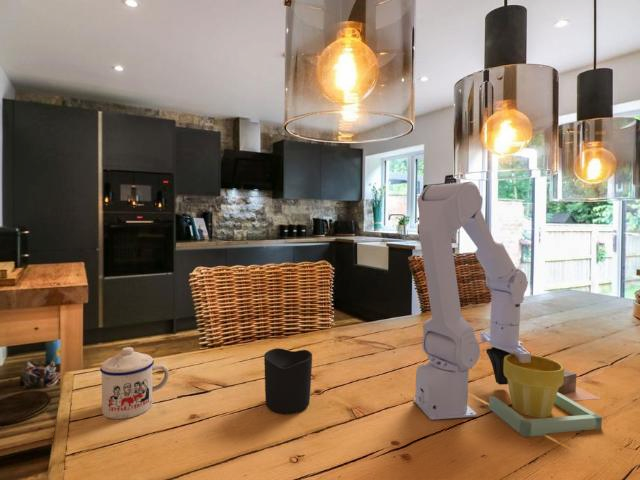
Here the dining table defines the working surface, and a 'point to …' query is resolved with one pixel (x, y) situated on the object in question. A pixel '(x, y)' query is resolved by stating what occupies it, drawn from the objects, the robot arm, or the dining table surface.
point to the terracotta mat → (580, 395)
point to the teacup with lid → (128, 384)
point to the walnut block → (568, 383)
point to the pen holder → (287, 380)
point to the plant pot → (533, 384)
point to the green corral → (541, 426)
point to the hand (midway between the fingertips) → (501, 383)
